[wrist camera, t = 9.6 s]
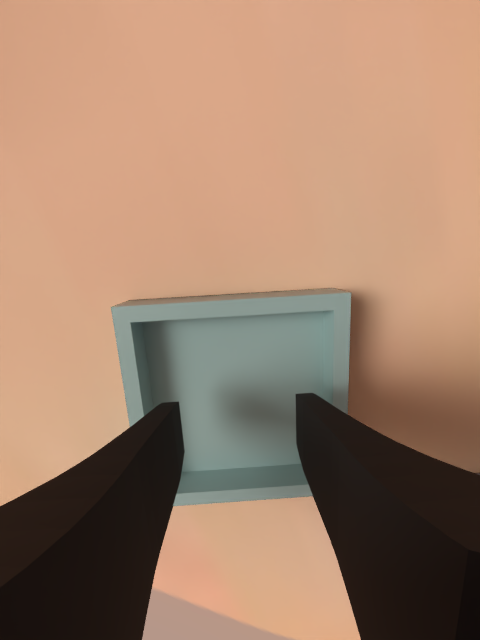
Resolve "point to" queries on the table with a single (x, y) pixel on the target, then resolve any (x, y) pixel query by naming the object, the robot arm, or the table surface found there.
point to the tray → (236, 381)
